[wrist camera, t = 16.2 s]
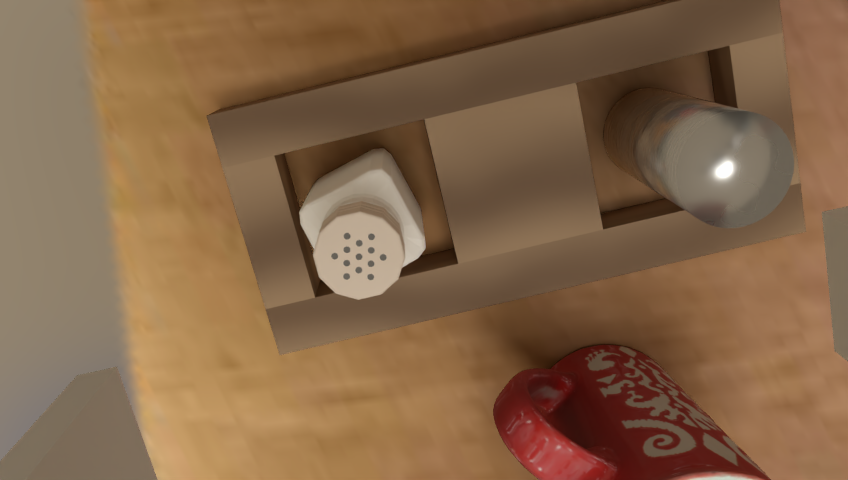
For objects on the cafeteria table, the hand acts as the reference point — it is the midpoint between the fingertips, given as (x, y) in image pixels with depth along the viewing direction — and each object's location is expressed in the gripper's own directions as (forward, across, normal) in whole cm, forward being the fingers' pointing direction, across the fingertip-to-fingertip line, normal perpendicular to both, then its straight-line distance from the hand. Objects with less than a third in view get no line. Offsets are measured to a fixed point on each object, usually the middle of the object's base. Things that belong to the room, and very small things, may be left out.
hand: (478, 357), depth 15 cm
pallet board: (+23, +3, -2) cm, 23 cm away
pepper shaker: (+23, -4, -2) cm, 23 cm away
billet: (+23, +10, -1) cm, 25 cm away
